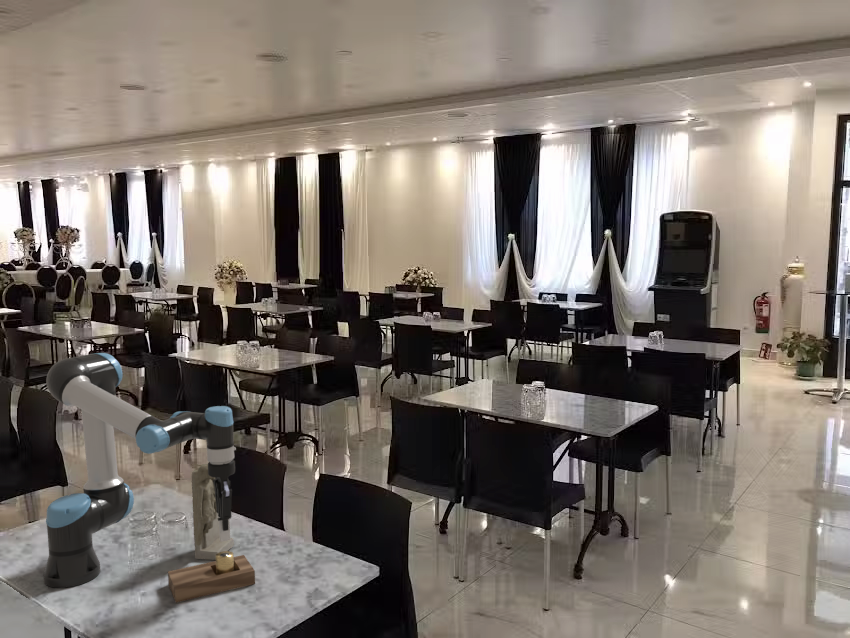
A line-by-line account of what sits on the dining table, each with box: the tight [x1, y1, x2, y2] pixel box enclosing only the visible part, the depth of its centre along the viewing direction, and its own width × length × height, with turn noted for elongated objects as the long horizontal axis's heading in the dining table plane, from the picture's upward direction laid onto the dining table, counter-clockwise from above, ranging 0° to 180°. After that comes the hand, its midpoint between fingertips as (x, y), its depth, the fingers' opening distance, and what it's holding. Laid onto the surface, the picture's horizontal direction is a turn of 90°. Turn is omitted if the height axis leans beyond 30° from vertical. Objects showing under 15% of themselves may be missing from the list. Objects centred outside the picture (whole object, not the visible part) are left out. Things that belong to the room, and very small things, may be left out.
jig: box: [167, 554, 256, 604], centre depth 203 cm, size 12×22×4 cm, turn 119°
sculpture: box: [191, 463, 235, 561], centre depth 222 cm, size 15×8×30 cm, turn 168°
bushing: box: [215, 550, 235, 575], centre depth 205 cm, size 5×5×8 cm
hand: (225, 539), depth 204 cm, fingers closed
